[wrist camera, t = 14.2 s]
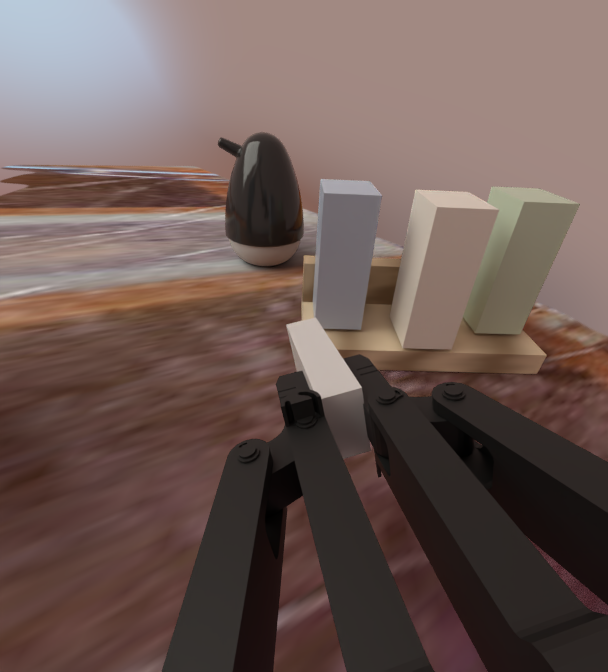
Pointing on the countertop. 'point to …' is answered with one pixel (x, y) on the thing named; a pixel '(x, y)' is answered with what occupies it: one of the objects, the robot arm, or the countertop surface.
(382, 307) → the wooden key holder base
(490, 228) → the cream rectangular block
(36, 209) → the countertop surface
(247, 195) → the pump dispenser
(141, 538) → the countertop surface
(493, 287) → the pale green tall block
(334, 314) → the slate key
